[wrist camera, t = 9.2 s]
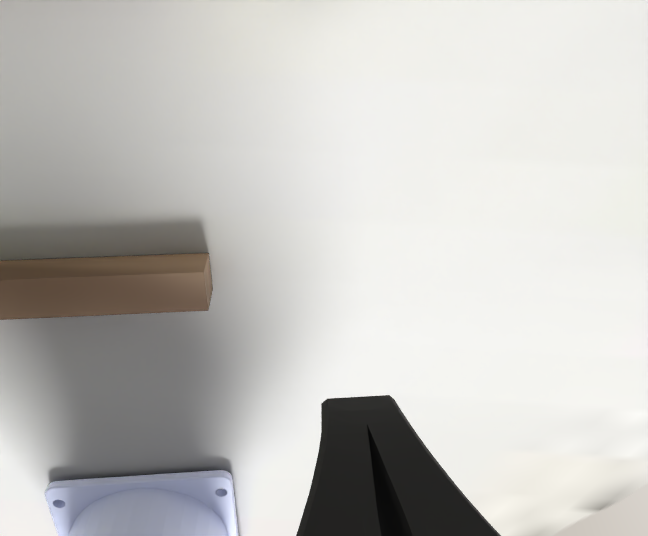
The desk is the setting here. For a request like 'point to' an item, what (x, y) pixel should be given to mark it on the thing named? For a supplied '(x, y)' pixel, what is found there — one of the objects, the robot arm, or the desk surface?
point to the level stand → (104, 285)
